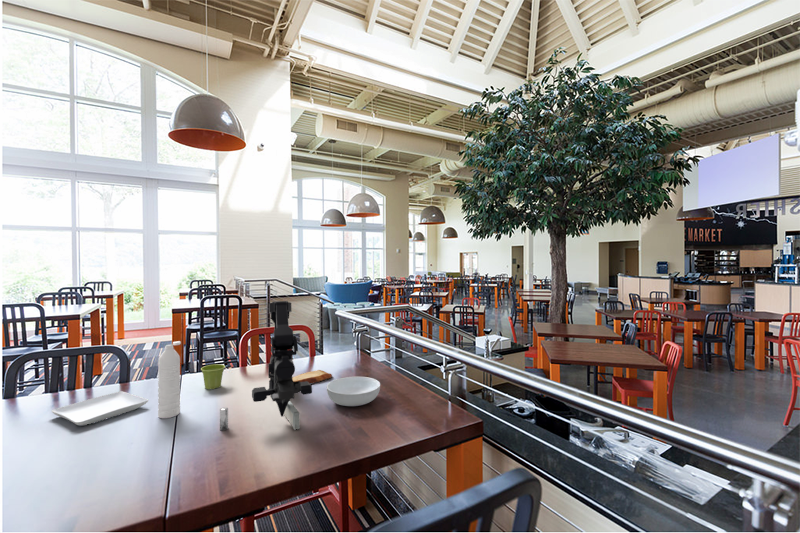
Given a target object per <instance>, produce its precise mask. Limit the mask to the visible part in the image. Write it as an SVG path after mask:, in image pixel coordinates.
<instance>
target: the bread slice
mask: <svg viewBox="0 0 800 533" xmlns="http://www.w3.org/2000/svg"><path fill="white" fill-rule="evenodd" d="M332 377H333V374H332V373H328V372H326V371H324V370H321V369H317V370H312V371H307V372H304V373H300V374H298V375H296V376H292V379H293V382H296V381H300V382H305V381H308V382H309V384H310V383H312V384H317V383H321V382H324V381H326V379H327V380H329V378H330V379H331V378H332ZM323 380H324V381H323ZM320 381H321V382H320ZM316 382H317V383H316ZM310 385H311V384H310Z"/></svg>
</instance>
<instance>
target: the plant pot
mask: <svg viewBox="0 0 800 533" xmlns="http://www.w3.org/2000/svg"><path fill="white" fill-rule="evenodd" d="M225 368H226V366H225V365H224V364H218V363H217V364H216V363H215V364H209V365H205V366H203V367H201V368H200V370H201V372H202V376H203V383H204V389H206V390H215V389H217V388H218V389H220V388H221V386H222V381H223V380H222V379H223V374H224V370H225Z"/></svg>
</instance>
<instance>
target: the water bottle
mask: <svg viewBox="0 0 800 533" xmlns="http://www.w3.org/2000/svg"><path fill="white" fill-rule="evenodd" d="M181 343H182V342H181V341H180V340H178V341H173V342H172V344H166V345H165V346H164V350H163V352H161V354H160V356H159V357H158V359H157V363H158V374H157V375H158V380H157V384H158V389H157V392H158V394H157V397H158V399H157V400H158V401H157V402H158V403H157V409H158V411H157V412H158V413H157V416H158V418H159V419H170V418H173V417H177V416H178V415H179V414H180V413H181V406H180V405H181V395H180V394H181V366H180V365H181V364H180V363H181V356H180V354H179V353H178V352H177V351H176V349H175V348H174V346H175V345H176V346H180V345H181Z"/></svg>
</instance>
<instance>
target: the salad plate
mask: <svg viewBox="0 0 800 533" xmlns="http://www.w3.org/2000/svg"><path fill="white" fill-rule="evenodd" d="M148 402H149V399H148V398H145V397H141V396H139V395H135V394H132V393H129V392H126V391H123V390H120V391H116V392H112V393H109V394H105V395H101V396H96V397H93V398H89V399H85V400H82V401H78V402H75V403H71V404H68V405H65V406H61V407H58V408H54V409H52V410H51V413H52V414H54V415H55V416H58V417H60V418H63V419H65V420H67V421H70V422H72V423H73V424H74V425H76V426H79V427H80V426H81V427H82V426H88V425H87V424H89V425H92V424H91V423H93V424H95V423H94V422H96V423H98V421H99V422H101V421H100V420H102V421H105V420H107V419H106V418H109V419H111V418H110V417H112V418H114V417H113V416H115V417H117V416H116V415H118V416H120V415H119V414H121V415H123V414H122V413H124V414H126V412H127V413H130V412H133V411H134V410H136V409H139V408H141V407H143V406H144V405H146V404H147V403H148ZM104 419H105V420H104Z"/></svg>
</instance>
